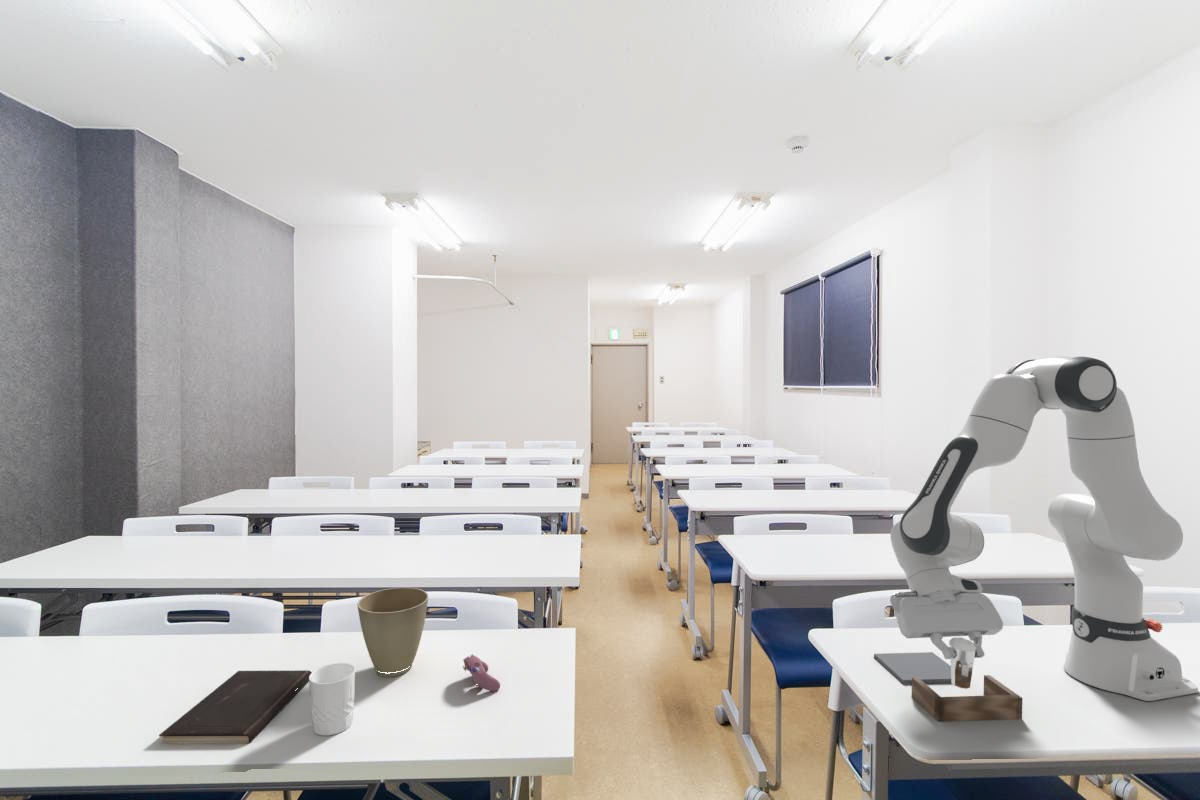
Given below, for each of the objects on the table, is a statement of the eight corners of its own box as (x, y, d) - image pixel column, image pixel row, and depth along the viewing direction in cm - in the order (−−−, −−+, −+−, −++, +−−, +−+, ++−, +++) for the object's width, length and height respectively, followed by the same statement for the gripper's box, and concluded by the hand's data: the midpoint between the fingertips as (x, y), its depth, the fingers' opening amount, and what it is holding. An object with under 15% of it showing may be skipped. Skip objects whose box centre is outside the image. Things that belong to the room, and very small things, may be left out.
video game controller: (470, 681, 128) (456, 656, 126) (488, 668, 130) (474, 643, 128) (484, 703, 119) (468, 677, 118) (503, 688, 121) (488, 662, 120)
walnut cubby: (989, 694, 120) (989, 675, 119) (1022, 718, 111) (1022, 698, 111) (911, 696, 119) (911, 677, 119) (938, 721, 110) (938, 700, 110)
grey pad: (932, 655, 136) (932, 652, 136) (967, 681, 124) (967, 678, 124) (874, 657, 136) (874, 653, 136) (903, 683, 124) (903, 680, 124)
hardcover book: (159, 747, 104) (159, 734, 103) (238, 681, 127) (238, 670, 126) (249, 746, 104) (249, 734, 104) (312, 680, 127) (312, 670, 127)
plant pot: (342, 679, 126) (341, 606, 125) (390, 649, 140) (389, 584, 139) (399, 692, 121) (398, 616, 120) (442, 660, 135) (441, 591, 134)
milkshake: (982, 692, 113) (985, 641, 113) (952, 688, 114) (955, 638, 114) (972, 681, 118) (975, 632, 117) (943, 677, 119) (946, 629, 119)
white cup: (343, 708, 115) (342, 658, 114) (364, 723, 110) (363, 671, 109) (302, 727, 109) (301, 674, 108) (322, 743, 104) (321, 688, 103)
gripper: (892, 586, 122) (920, 653, 112) (987, 582, 123) (1023, 649, 113) (881, 599, 127) (907, 665, 117) (972, 595, 127) (1006, 660, 118)
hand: (965, 657), depth 115 cm, fingers closed on milkshake, 4 cm apart
